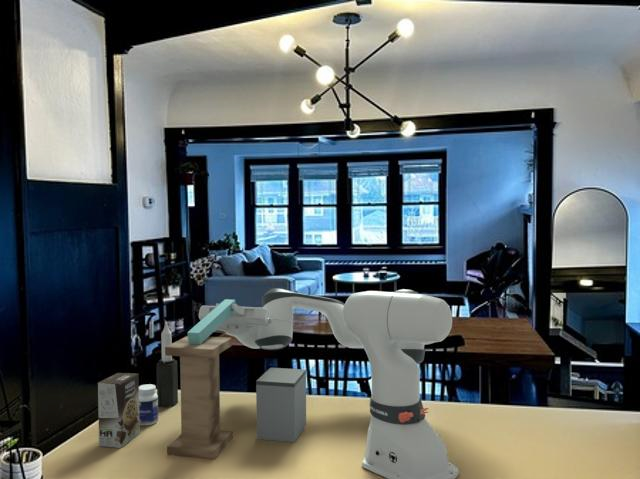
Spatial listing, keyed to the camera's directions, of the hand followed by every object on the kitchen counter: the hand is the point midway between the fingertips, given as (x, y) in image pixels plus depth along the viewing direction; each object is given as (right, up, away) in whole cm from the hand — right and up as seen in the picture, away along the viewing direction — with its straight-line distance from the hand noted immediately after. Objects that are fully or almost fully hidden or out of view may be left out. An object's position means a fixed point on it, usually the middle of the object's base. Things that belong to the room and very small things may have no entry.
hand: (225, 306), depth 150 cm
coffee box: (-25, -33, -11) cm, 43 cm away
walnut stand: (-3, -33, -15) cm, 36 cm away
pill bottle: (-22, -32, 0) cm, 39 cm away
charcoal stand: (+16, -32, -6) cm, 36 cm away
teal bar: (-2, -4, -8) cm, 9 cm away
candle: (-20, -31, +14) cm, 40 cm away
